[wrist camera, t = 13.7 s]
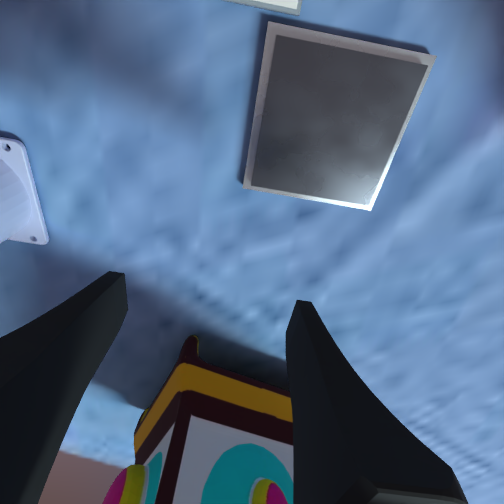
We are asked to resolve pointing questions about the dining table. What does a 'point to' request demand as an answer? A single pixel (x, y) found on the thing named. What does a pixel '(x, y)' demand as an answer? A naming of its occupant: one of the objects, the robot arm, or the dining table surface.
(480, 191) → the dining table surface
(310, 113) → the ink pad
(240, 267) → the dining table surface
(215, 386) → the decorative lantern
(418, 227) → the dining table surface
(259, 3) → the marked board
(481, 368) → the dining table surface
